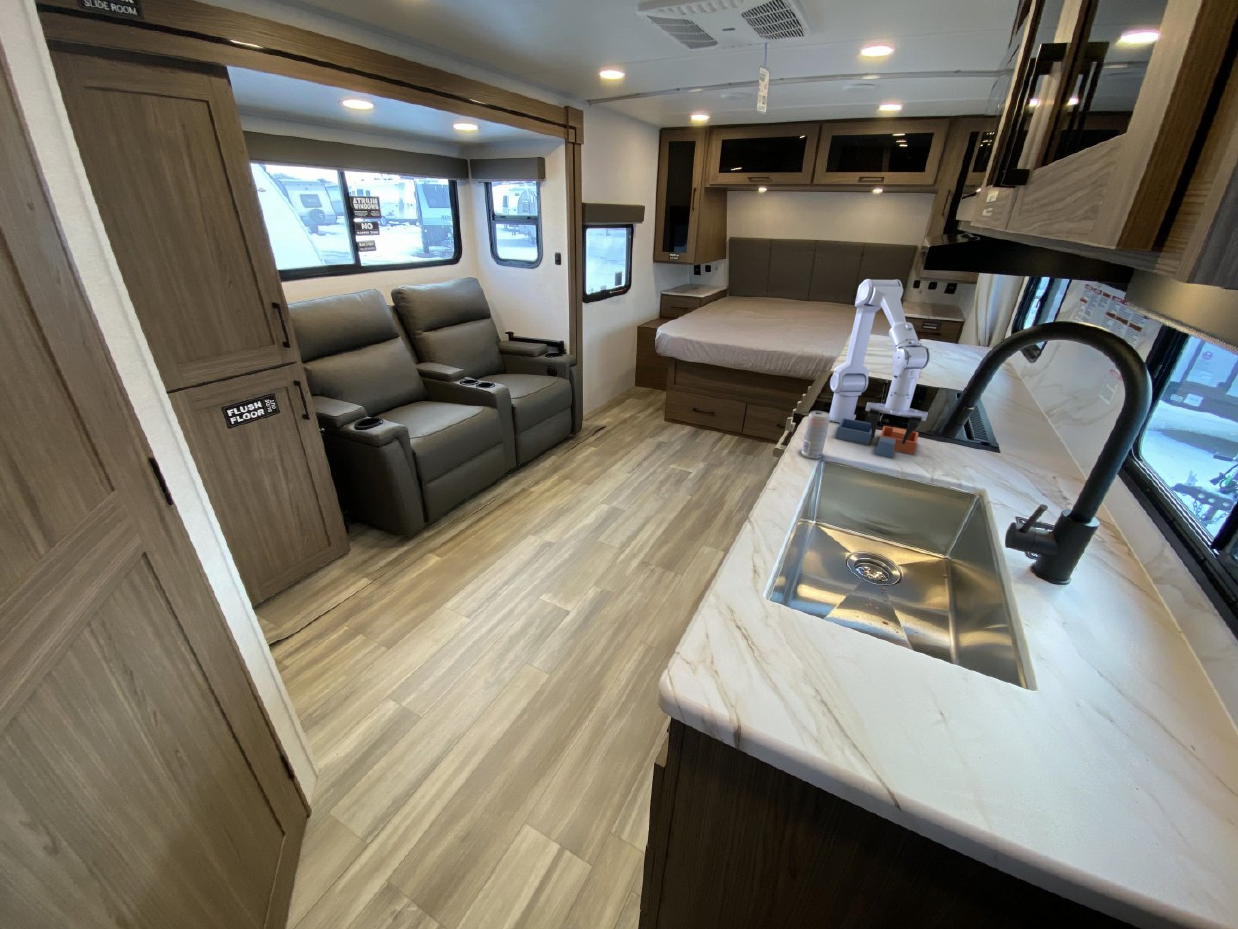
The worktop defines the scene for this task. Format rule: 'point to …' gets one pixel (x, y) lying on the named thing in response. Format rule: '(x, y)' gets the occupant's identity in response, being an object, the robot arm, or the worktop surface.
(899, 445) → the rust bin
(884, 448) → the slate block
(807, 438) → the energy drink
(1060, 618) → the worktop surface
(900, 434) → the rust block
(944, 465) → the worktop surface
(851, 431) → the slate bin
